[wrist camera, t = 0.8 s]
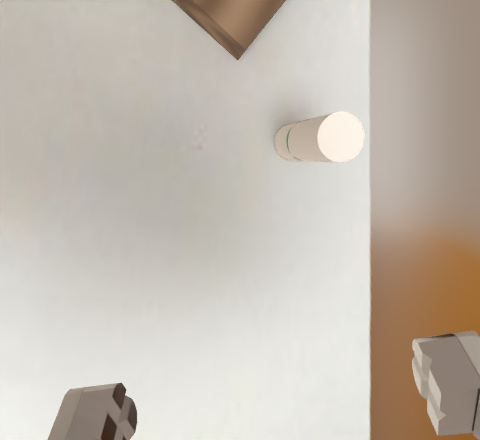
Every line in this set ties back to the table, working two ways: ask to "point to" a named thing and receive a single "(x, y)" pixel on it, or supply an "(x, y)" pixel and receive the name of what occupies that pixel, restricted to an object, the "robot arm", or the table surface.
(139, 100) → the table surface
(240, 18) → the walnut stand
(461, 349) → the robot arm
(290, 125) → the tube
